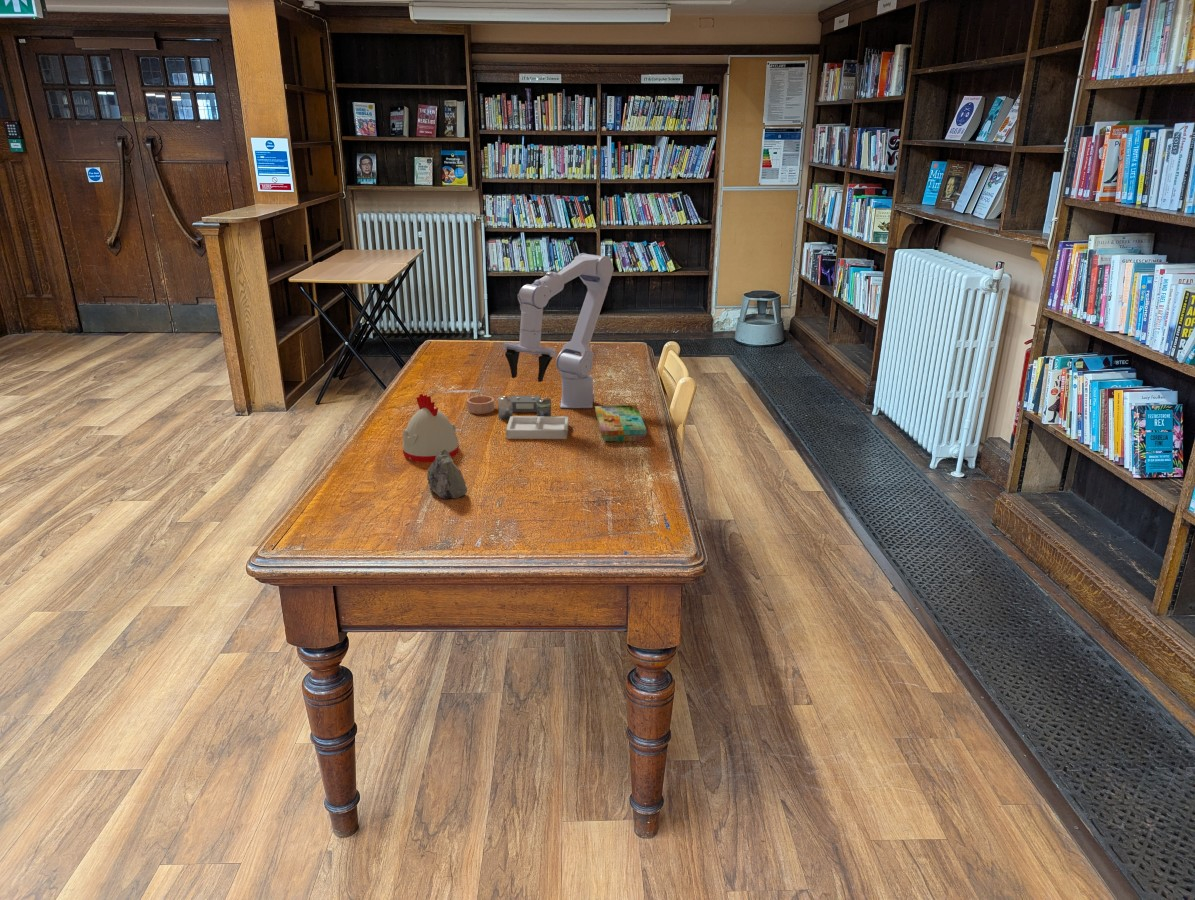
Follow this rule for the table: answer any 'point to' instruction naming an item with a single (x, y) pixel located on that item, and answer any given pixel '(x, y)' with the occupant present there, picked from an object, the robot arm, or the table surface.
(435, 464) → the mineral rock
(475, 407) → the pink bowl
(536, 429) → the tray
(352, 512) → the table surface
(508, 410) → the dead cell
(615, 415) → the puzzle game
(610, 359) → the table surface
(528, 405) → the grey box with knobs
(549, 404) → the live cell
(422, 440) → the kitchen timer
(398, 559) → the table surface
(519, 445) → the table surface
